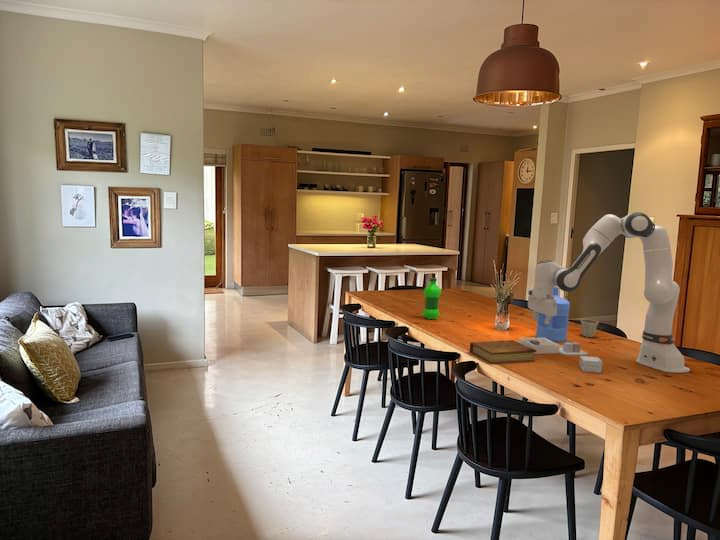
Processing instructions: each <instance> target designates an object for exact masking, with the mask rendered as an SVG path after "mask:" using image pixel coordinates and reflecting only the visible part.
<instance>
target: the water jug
mask: <svg viewBox="0 0 720 540" xmlns="http://www.w3.org/2000/svg"><path fill="white" fill-rule="evenodd" d="M559 289H560V288H559V287H558V286H554V287H553V297H554V298H555V300H556V303H557V315H556V316H551V319H550V321H549V324H544V320H546V315H545V314H542V313H539V312H538V313H537V315H538V320H536V322H537V323H536V332H535V338H546V339H548V340H550V341H552V342H554V343H563V342H566V341H567V340H568V339H567V338H568V326H569V316H570V308H571V305H570V304H571V303H570V301H569V300H567V299H565V298H563V297H561V296H560V295H559Z"/></svg>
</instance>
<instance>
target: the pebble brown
mask: <svg viewBox="0 0 720 540" xmlns="http://www.w3.org/2000/svg"><path fill="white" fill-rule="evenodd" d="M569 342H570V343H572V344H574V346H573V352H580V350H581V343H579V342H577V341H569Z"/></svg>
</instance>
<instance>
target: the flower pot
mask: <svg viewBox="0 0 720 540" xmlns="http://www.w3.org/2000/svg"><path fill="white" fill-rule="evenodd" d="M599 323H600V321H597V320H593V319H587V318H585V319H580V324H581V335H583V336H582V337H584V336H585V337H584V338H589V337H590V338H592V337H593V338H595V335H596V332H597V327H598V325H599Z"/></svg>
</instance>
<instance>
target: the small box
mask: <svg viewBox="0 0 720 540" xmlns="http://www.w3.org/2000/svg"><path fill="white" fill-rule="evenodd" d="M578 367H579V368H580V369H581V371H582V372H584V373H585V372H586V373H597V374H602V369H603V361H602V360H601V359H600V358H599V357H598V356H590V355H579V362H578Z"/></svg>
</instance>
